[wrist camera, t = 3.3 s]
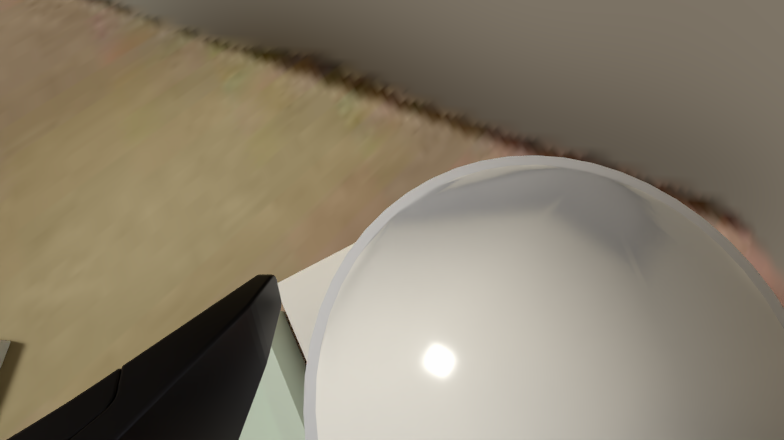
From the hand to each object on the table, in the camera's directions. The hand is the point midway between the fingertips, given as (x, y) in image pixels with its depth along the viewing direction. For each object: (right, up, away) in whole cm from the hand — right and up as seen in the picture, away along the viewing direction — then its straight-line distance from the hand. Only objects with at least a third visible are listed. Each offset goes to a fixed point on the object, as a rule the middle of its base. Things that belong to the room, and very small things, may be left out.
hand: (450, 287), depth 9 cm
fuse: (0, -3, +5) cm, 5 cm away
